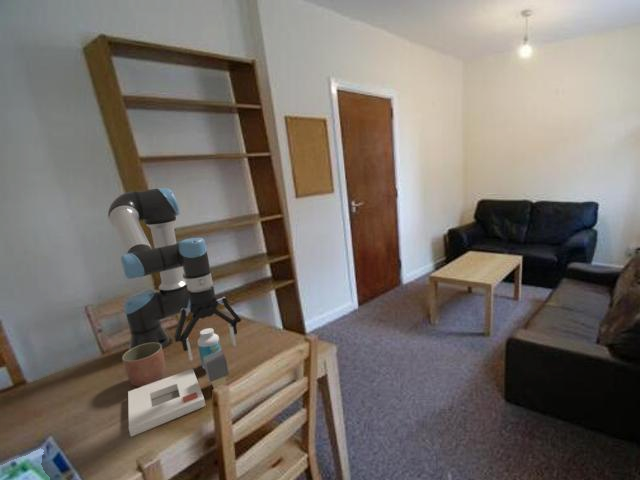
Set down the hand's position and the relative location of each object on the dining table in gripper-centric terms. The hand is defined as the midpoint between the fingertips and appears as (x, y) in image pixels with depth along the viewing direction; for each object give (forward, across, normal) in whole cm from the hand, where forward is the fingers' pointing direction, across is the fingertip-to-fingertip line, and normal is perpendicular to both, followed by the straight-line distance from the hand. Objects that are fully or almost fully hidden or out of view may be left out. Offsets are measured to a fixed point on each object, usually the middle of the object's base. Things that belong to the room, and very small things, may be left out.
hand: (213, 351), depth 109 cm
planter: (+12, -20, +20) cm, 31 cm away
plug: (+12, 0, 0) cm, 12 cm away
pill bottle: (+12, +1, +14) cm, 19 cm away
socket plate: (+12, -16, +2) cm, 20 cm away
